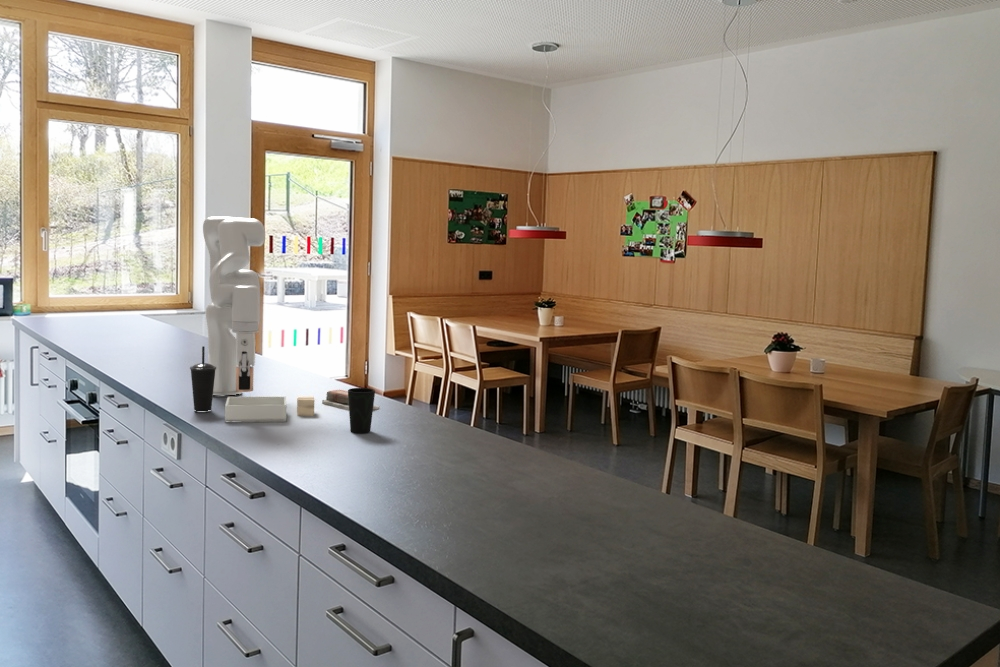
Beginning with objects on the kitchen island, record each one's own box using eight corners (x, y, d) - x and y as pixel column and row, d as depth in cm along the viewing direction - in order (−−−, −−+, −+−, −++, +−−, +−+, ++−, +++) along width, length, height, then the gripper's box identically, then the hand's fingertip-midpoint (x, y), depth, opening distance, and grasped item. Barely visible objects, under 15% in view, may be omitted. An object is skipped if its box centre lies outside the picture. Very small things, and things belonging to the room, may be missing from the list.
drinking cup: (198, 414, 245) (199, 348, 243) (184, 410, 249) (184, 346, 247) (221, 411, 251) (221, 347, 249) (206, 407, 255) (207, 344, 253)
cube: (297, 412, 255) (297, 396, 255) (313, 412, 256) (313, 396, 256) (297, 415, 250) (297, 399, 250) (314, 415, 252) (314, 399, 251)
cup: (368, 435, 229) (369, 393, 227) (342, 433, 230) (343, 391, 229) (377, 429, 236) (379, 389, 235) (352, 427, 238) (353, 386, 236)
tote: (227, 412, 249) (227, 396, 249) (285, 412, 254) (286, 396, 253) (224, 422, 237) (225, 405, 236) (286, 421, 241) (286, 405, 241)
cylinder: (253, 388, 246) (253, 366, 246) (253, 391, 241) (253, 368, 241) (236, 389, 245) (236, 365, 244) (235, 391, 240) (235, 368, 239)
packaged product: (321, 390, 269) (344, 387, 277) (320, 405, 270) (344, 401, 278) (356, 398, 258) (380, 395, 266) (356, 413, 259) (380, 410, 266)
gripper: (258, 330, 234) (257, 392, 236) (259, 324, 251) (258, 383, 252) (230, 329, 232) (229, 393, 234) (233, 324, 249) (233, 383, 250)
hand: (244, 387), depth 243 cm, fingers closed on cylinder, 5 cm apart
